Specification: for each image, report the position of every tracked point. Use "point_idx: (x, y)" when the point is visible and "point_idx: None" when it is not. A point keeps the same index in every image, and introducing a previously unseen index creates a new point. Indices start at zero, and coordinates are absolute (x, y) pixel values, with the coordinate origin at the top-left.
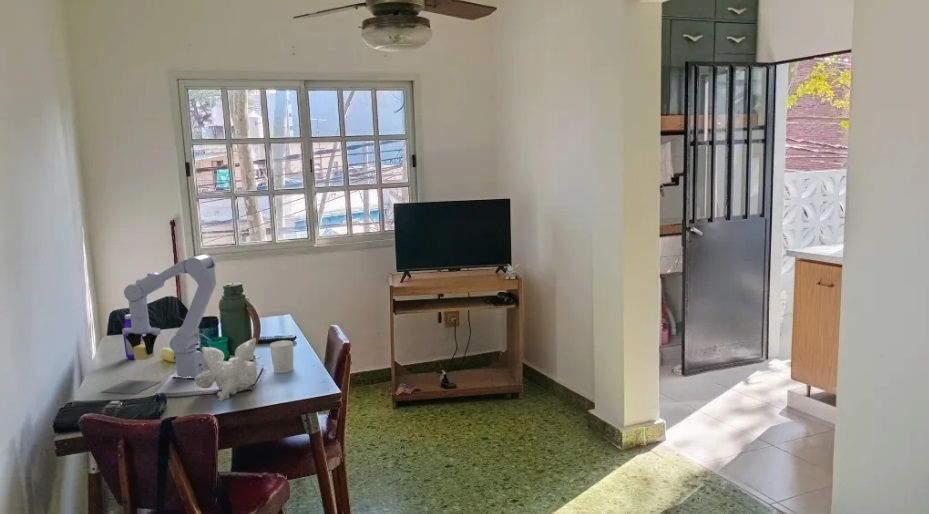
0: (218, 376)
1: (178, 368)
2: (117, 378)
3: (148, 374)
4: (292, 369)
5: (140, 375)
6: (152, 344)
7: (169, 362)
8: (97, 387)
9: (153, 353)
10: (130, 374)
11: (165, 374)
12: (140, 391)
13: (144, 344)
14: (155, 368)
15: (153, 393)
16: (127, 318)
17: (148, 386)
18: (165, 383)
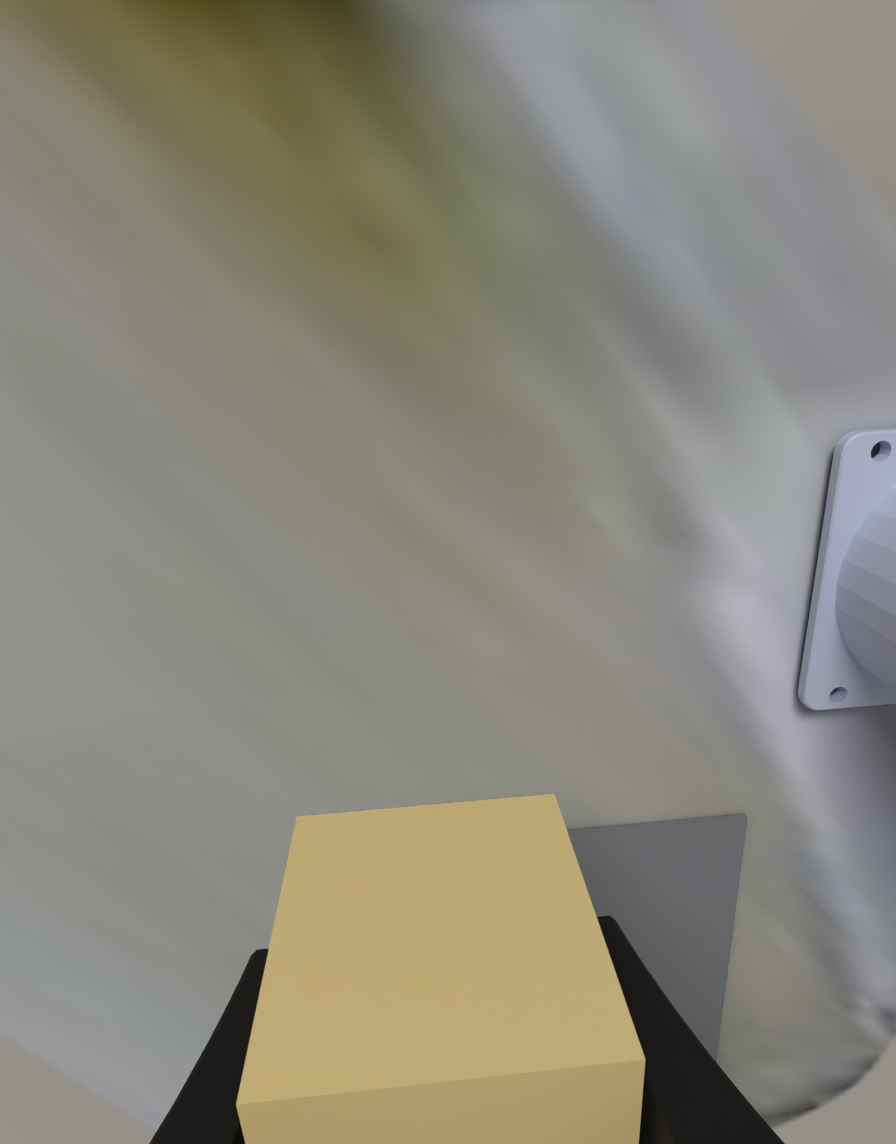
0: None
1: None
2: (100, 826)
3: (375, 638)
4: None
5: (298, 689)
6: (723, 1141)
7: (194, 5)
8: (172, 1046)
9: (569, 847)
10: (116, 685)
11: (615, 595)
12: (717, 1031)
13: (392, 1133)
14: (242, 391)
15: (862, 1026)
16: None
17: (712, 943)
18: (821, 831)
